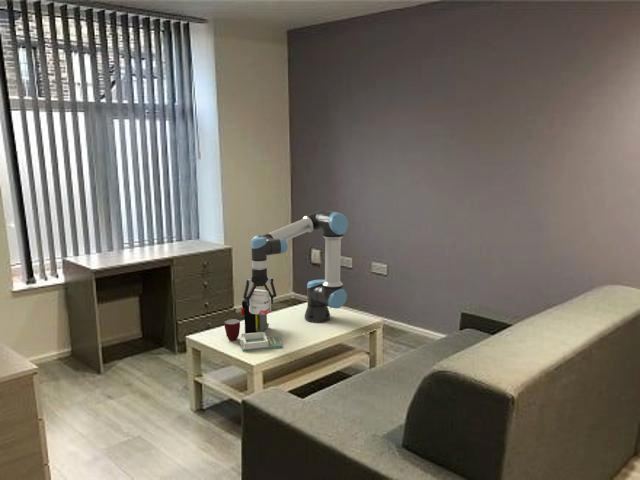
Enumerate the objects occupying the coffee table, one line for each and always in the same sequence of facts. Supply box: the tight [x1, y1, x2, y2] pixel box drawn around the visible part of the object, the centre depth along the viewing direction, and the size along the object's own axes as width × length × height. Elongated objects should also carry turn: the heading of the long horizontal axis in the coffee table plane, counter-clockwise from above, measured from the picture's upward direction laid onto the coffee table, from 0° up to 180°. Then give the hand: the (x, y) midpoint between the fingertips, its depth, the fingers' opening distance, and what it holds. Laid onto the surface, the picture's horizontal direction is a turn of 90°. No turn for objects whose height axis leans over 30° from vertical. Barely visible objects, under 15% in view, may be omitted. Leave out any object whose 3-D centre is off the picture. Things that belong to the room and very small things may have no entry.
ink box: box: [251, 288, 270, 316], centre depth 269 cm, size 9×5×12 cm, turn 72°
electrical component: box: [240, 298, 270, 334], centre depth 290 cm, size 18×10×20 cm, turn 168°
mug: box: [224, 318, 241, 342], centre depth 281 cm, size 11×8×10 cm
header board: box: [239, 331, 283, 353], centre depth 274 cm, size 20×14×4 cm
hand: (260, 311), depth 270 cm, fingers closed on ink box, 9 cm apart
